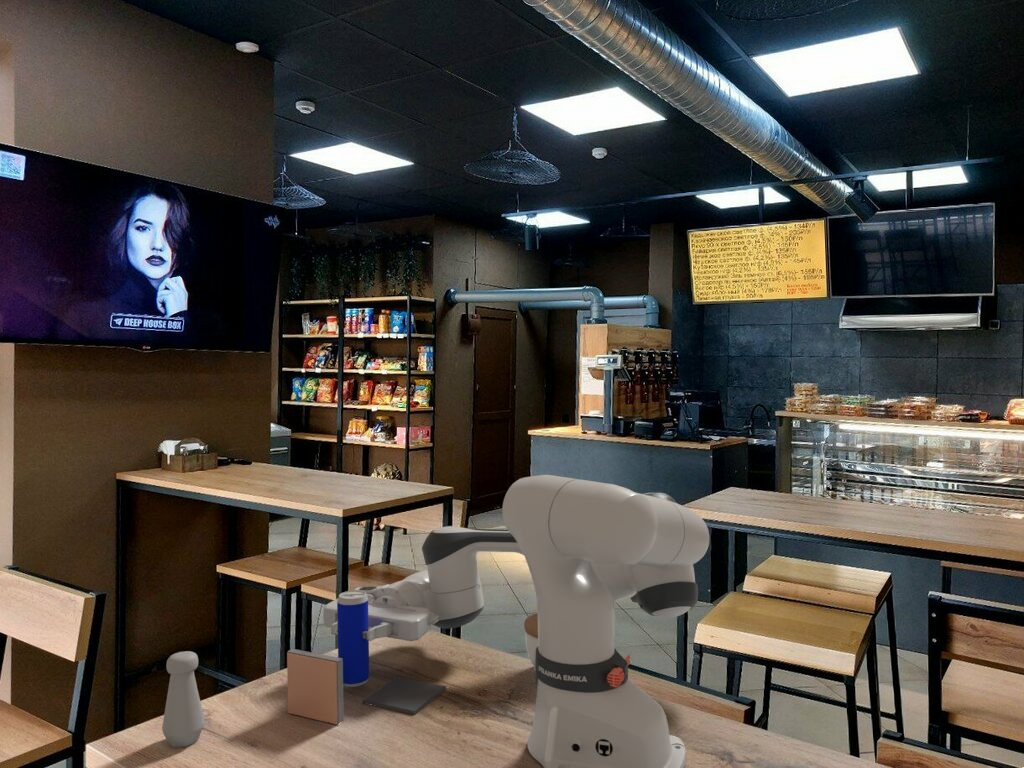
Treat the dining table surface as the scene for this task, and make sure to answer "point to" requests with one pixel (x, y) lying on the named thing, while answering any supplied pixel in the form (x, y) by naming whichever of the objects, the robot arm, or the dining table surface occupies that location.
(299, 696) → the ceramic tile
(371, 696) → the rubber mat
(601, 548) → the robot arm
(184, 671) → the salt shaker
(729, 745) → the dining table surface
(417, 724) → the dining table surface
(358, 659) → the beverage can
